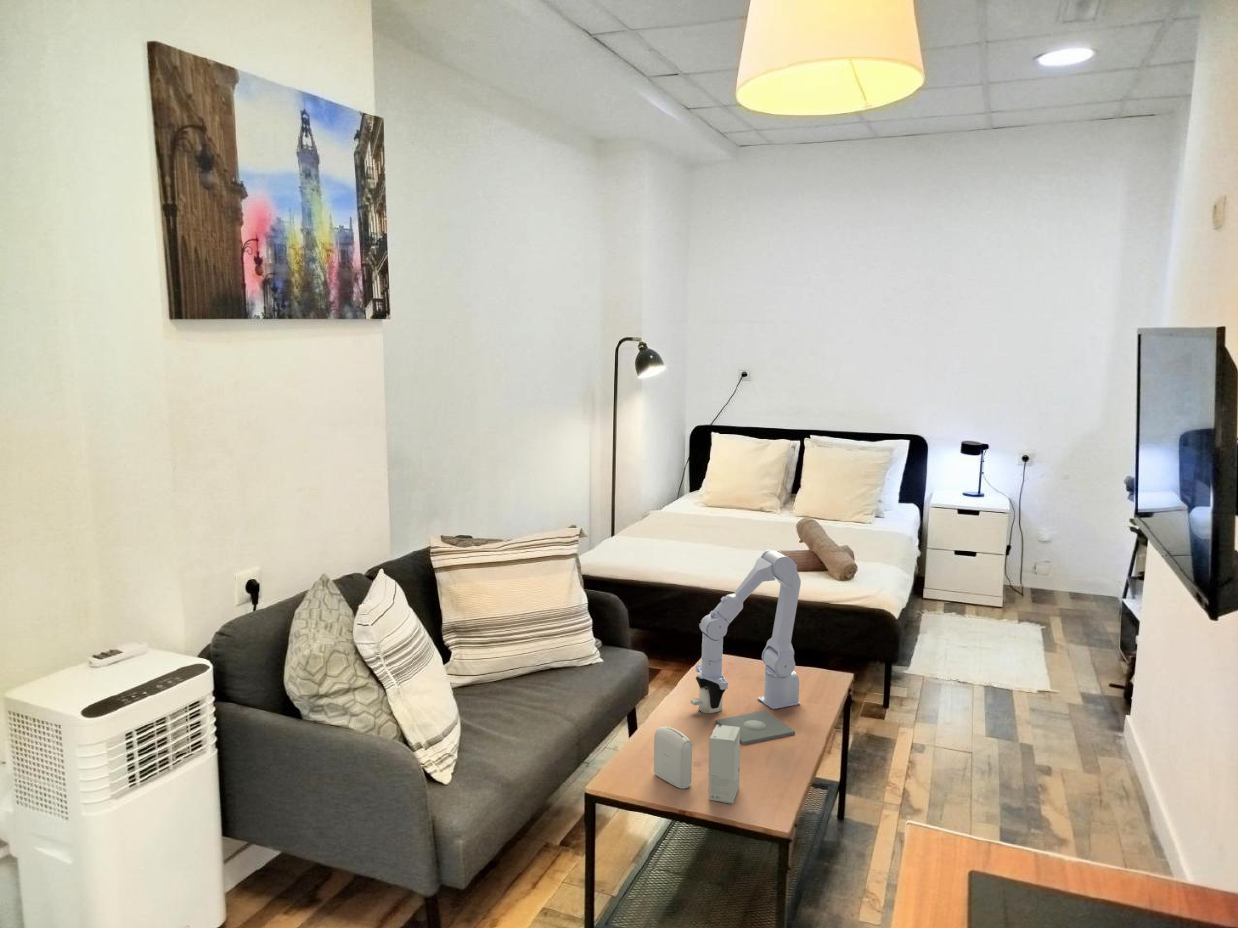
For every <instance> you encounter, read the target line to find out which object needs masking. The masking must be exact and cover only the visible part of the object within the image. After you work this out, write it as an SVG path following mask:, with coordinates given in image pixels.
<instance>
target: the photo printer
mask: <svg viewBox="0 0 1238 928" xmlns="http://www.w3.org/2000/svg"><path fill="white" fill-rule="evenodd" d="M653 739H654V742H653V748H654V749H653V750H654V753H653V755H654V756H653V760H654V761H653V766H654V767H653V772H654V774H655V775H656V776H657V777H658V778H660V779H662V780H663V781H665V782H667V783H668V784H671V785H672V786H673V787H676V788H678V789H683V790H684V789H687V788H689V787H690V786H691V784H692V779H693V778H692V777H693V776H692V774H693V773H692V771H693V770H692V769H693V744H692V741H691V740H690V739H689V737H688V736H686V735H685V734H684V733H682V732H681V731H680V730H678V729H676V728H673V727H670V726H666V725H665V726H664V725H663V726H660V727H657V729H656V730H655V733H654V738H653Z"/></svg>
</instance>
